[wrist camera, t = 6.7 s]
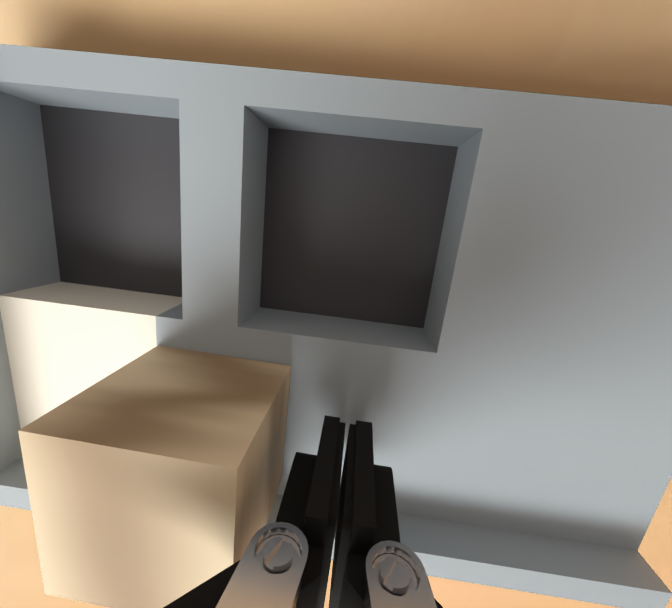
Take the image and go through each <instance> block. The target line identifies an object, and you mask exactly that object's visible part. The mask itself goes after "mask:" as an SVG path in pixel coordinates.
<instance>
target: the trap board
mask: <svg viewBox="0 0 672 608" xmlns="http://www.w3.org/2000/svg"><path fill="white" fill-rule="evenodd" d="M156 346H164V347H171V348H178V349H184V350H191V351H198V352H204V353H211V354H217V355H224V356H230V357H237V358H243V359H250V360H257V361H263V362H270V363H276V364H283V365H289V366H291V376H290V387H289V399H288V410H287V422H286V433H285V444H284V456H283V467H282V478H281V482H280V485H279V488H278V491H277V494H276V497H275V500H274V503H273V506H272V509H271V512H270V515H269V518H268V521H267V524H266V525H268V524H270V523H275V522H276V518H277V515H278V511H279V508H280V504H281V501H282V497H283V494H284V491H285V487H286V484H287V480H288V477H289V473H290V470H291V466H292V463H293V460H294V456H295V453H296V452H300V453H306V454H312V455H317V452H318V447H319V442H320V437H321V432H322V427H323V422H324V417H325V415H327V416H333V417H339V418H340V422H343V423H346V425H345V436H344V448H343V459H342V470H341V477H342V471H343V464H344V458H345V451H346V444H347V438H348V431H349V425H350V424H356V420H359V421H365V422H372V430H373V455H374V464H375V465H381V466H387V467H391V468H392V471H393V479H394V488H395V497H396V506H397V515H398V524H399V533H400V542H401V544H404V545H406V546H407V547H409V548H410V549H411V550H412V551H413V552H415V554H416V555H417V556H418V557H419V559H420V560H421V562H422V564H423V566H424V568H425V571H426V574H427V576H432V577H438V578H445V579H451V580H457V581H463V582H469V583H475V584H481V585H487V586H493V587H499V588H505V589H511V590H517V591H523V592H530V593H536V594H542V595H548V596H554V597H560V598H566V599H572V600H578V601H584V602H590V603H596V604H602V605H608V606H615V607H621V608H665V607H666V605H667V603H668V601H669V599H670V597H671V595H672V593H671V591H670V590H669V589H668V588H667V586H666V585H665V584H664V583H663V582H662V580H661V579H660V578H659V577H658V575H657V574H656V573H655V572H654V571H653V569H652V568H651V567H650V566H649V564H648V563H647V562H646V561H645V560H644V558H643V557H642V556H641V555H640V553H639V552H638V551H637V550H638V548H639V546H640V543H641V541H642V539H643V537H644V535H645V533H646V531H647V528H648V526H649V524H650V522H651V520H652V518H653V515H654V513H655V511H656V509H657V507H658V505H659V502H660V500H661V498H662V496H663V494H664V492H665V489H666V487H667V485H668V483H669V481H670V479H671V476H672V106H671V105H660V104H649V103H639V102H628V101H617V100H606V99H595V98H584V97H573V96H562V95H551V94H540V93H530V92H519V91H508V90H497V89H486V88H475V87H464V86H453V85H442V84H431V83H421V82H410V81H399V80H388V79H377V78H366V77H355V76H344V75H333V74H323V73H312V72H301V71H290V70H279V69H268V68H257V67H246V66H235V65H224V64H214V63H203V62H192V61H181V60H170V59H159V58H148V57H137V56H126V55H115V54H105V53H94V52H83V51H72V50H61V49H50V48H39V47H28V46H17V45H6V44H0V505H1V506H7V507H13V508H19V509H26V510H31V506H30V500H29V494H28V488H27V482H26V475H25V469H24V463H23V457H22V451H21V445H20V439H19V433H18V430H20V429H21V428H23V427H25V426H26V425H28V424H30V423H31V422H33V421H35V420H36V419H38V418H40V417H41V416H43V415H44V414H46V413H48V412H49V411H51V410H53V409H54V408H56V407H58V406H59V405H61V404H63V403H64V402H66V401H67V400H69V399H71V398H72V397H74V396H76V395H77V394H79V393H81V392H82V391H84V390H86V389H87V388H89V387H90V386H92V385H94V384H95V383H97V382H99V381H100V380H102V379H104V378H105V377H107V376H109V375H110V374H112V373H113V372H115V371H117V370H118V369H120V368H122V367H123V366H125V365H127V364H128V363H130V362H132V361H133V360H135V359H137V358H138V357H140V356H141V355H143V354H145V353H146V352H148V351H150V350H151V349H153V348H155V347H156ZM340 484H341V481H340ZM335 534H336V530H335ZM334 545H335V537H334V543H333V550H332V556H331V560H333V556H334Z"/></svg>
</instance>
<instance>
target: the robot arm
mask: <svg viewBox="0 0 672 608" xmlns="http://www.w3.org/2000/svg"><path fill="white" fill-rule="evenodd" d="M345 425H346V423H343V422H340V418H339V417H333V416H327V415H325V417H324V422H323V427H322V432H321V437H320V442H319V447H318V452H317V455H312V454H306V453H300V452H296V453H295V456H294V460H293V463H292V466H291V470H290V473H289V477H288V480H287V484H286V487H285V491H284V494H283V497H282V501H281V504H280V508H279V511H278V515H277V518H276V522H275V523H270V524H268V525H266V526H264V527H262V528H261V529H260V530H258V531H257V532H256V533H255V535H254V536H253V538H252V539H251V541H250V543H249V545H248V546H247V548H246V550H245V552H244V554H243V556H242V558H241V560H239V561H237V562H236V563H234V564H233V565H231V566H229V567H228V568H226V569H225V570H223V571H221V572H220V573H218V574H217V575H215V576H213V577H212V578H210V579H208V580H207V581H205V582H204V583H202V584H200V585H199V586H197V587H196V588H194V589H192V590H191V591H189V592H187V593H186V594H184V595H183V596H181V597H179V598H178V599H176V600H175V601H173V602H171V603H170V604H168V605H167V606H165V607H163V608H324V601H325V595H326V589H327V582H328V576H329V569H330V563H331V556H332V550H333V543H334V537H335V545H334V556H333V567H332V578H331V589H330V601H329V608H443V607H442V606H441V605H440V604H439V603H438V602H437V601H436V600H435V598H434V596H433V593H432V590H431V587H430V583H429V580H428V577H427V574H426V571H425V568H424V566H423V564H422V562H421V560H420V559H419V557H418V556H417V555H416V554H415V552H413V551H412V550H411V549H410V548H409V547H407V546H406V545H404V544H401V542H400V533H399V524H398V515H397V506H396V497H395V488H394V479H393V471H392V468H391V467H387V466H381V465H375V464H374V455H373V430H372V422H365V421H359V420H356V424H350V425H349V431H348V438H347V444H346V451H345V458H344V464H343V471H342V477H341V470H342V459H343V448H344V436H345ZM340 481H341V484H340ZM335 530H336V534H335Z"/></svg>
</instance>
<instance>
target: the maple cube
mask: <svg viewBox="0 0 672 608" xmlns="http://www.w3.org/2000/svg"><path fill="white" fill-rule="evenodd" d="M290 376H291V366H289V365H283V364H276V363H270V362H263V361H257V360H250V359H243V358H237V357H230V356H224V355H217V354H211V353H204V352H198V351H191V350H184V349H178V348H171V347H164V346H156V347H155V348H153V349H151V350H150V351H148V352H146V353H145V354H143V355H141V356H140V357H138V358H137V359H135V360H133V361H132V362H130V363H128V364H127V365H125V366H123V367H122V368H120V369H118V370H117V371H115V372H113V373H112V374H110V375H109V376H107V377H105V378H104V379H102V380H100V381H99V382H97V383H95V384H94V385H92V386H90V387H89V388H87V389H86V390H84V391H82V392H81V393H79V394H77V395H76V396H74V397H72V398H71V399H69V400H67V401H66V402H64V403H63V404H61V405H59V406H58V407H56V408H54V409H53V410H51V411H49V412H48V413H46V414H44V415H43V416H41V417H40V418H38V419H36V420H35V421H33V422H31V423H30V424H28V425H26V426H25V427H23V428H21V429H20V430H18V433H19V439H20V445H21V451H22V457H23V463H24V469H25V475H26V482H27V488H28V494H29V500H30V506H31V512H32V518H33V524H34V530H35V536H36V542H37V548H38V555H39V561H40V567H41V573H42V579H43V585H44V591H45V594H47V595H52V596H57V597H61V598H66V599H71V600H76V601H80V602H85V603H90V604H95V605H100V606H104V607H109V608H163V607H165V606H167V605H168V604H170V603H171V602H173V601H175V600H176V599H178V598H179V597H181V596H183V595H184V594H186V593H187V592H189V591H191V590H192V589H194V588H196V587H197V586H199V585H200V584H202V583H204V582H205V581H207V580H208V579H210V578H212V577H213V576H215V575H217V574H218V573H220V572H221V571H223V570H225V569H226V568H228V567H229V566H231V565H233V564H234V563H236V562H237V561H239V560H241V558H242V556H243V554H244V552H245V550H246V548H247V546H248V545H249V543H250V541H251V539H252V538H253V536H254V535H255V533H256V532H257V531H258V530H260V529H261V528H262V527H264V526H266V524H267V521H268V518H269V515H270V512H271V509H272V506H273V503H274V500H275V497H276V494H277V491H278V488H279V485H280V482H281V478H282V467H283V456H284V444H285V433H286V422H287V410H288V399H289V387H290Z"/></svg>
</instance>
